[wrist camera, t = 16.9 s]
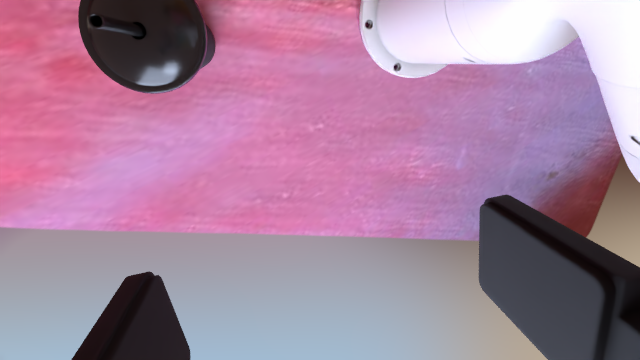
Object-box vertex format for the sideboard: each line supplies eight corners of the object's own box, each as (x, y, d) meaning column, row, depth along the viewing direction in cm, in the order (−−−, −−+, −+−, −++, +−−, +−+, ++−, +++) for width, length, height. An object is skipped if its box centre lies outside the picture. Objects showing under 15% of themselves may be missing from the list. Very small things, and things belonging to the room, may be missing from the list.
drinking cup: (160, -12, 32) (9, -116, 13) (238, 20, 34) (200, -31, 15) (143, 66, 34) (-9, 71, 15) (217, 92, 36) (163, 125, 17)
